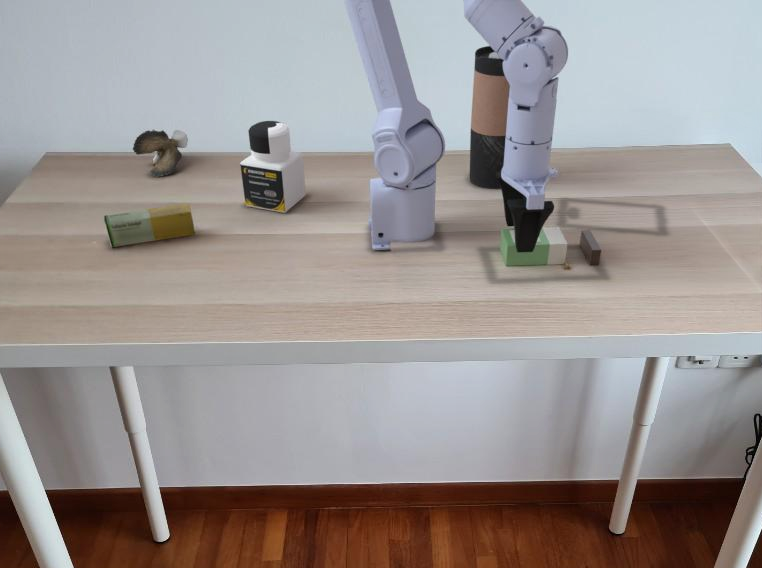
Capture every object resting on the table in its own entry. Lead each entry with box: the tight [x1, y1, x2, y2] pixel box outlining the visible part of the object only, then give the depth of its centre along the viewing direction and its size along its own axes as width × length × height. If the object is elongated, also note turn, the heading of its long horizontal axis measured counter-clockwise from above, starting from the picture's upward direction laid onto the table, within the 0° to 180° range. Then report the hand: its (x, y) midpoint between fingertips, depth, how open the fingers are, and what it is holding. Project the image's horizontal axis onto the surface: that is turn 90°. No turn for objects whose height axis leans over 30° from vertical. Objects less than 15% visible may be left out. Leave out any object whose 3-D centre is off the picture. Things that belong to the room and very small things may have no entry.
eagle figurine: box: [132, 129, 189, 178], centre depth 136 cm, size 8×7×9 cm
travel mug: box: [469, 45, 510, 189], centre depth 127 cm, size 8×8×20 cm
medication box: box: [103, 203, 197, 249], centre depth 115 cm, size 12×3×4 cm, turn 109°
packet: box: [499, 226, 569, 267], centre depth 108 cm, size 8×5×3 cm, turn 93°
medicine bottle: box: [239, 120, 307, 214], centre depth 123 cm, size 7×7×12 cm
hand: (519, 237), depth 108 cm, fingers open, 7 cm apart
